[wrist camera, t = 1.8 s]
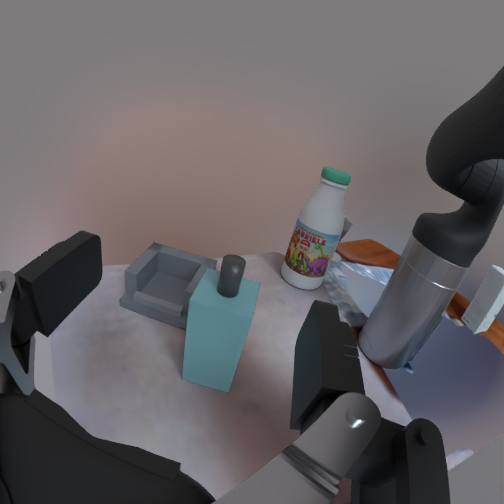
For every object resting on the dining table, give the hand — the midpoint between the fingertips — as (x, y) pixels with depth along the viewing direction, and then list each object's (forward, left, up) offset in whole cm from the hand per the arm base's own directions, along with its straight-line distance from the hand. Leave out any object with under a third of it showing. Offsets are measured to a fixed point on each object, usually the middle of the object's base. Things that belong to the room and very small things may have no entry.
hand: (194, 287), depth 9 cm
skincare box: (-60, -24, -19) cm, 67 cm away
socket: (+5, -22, -19) cm, 29 cm away
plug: (-2, -11, -19) cm, 22 cm away
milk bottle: (-16, -33, -19) cm, 41 cm away
